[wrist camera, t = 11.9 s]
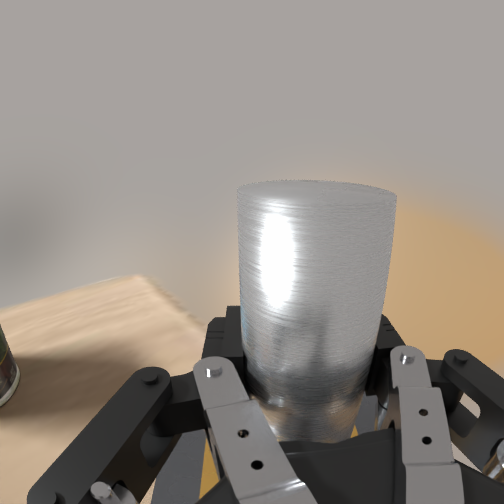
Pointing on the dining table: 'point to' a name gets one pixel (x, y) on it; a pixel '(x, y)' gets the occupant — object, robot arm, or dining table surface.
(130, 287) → the dining table surface
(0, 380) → the coffee can
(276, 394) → the peg
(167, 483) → the slotted block
